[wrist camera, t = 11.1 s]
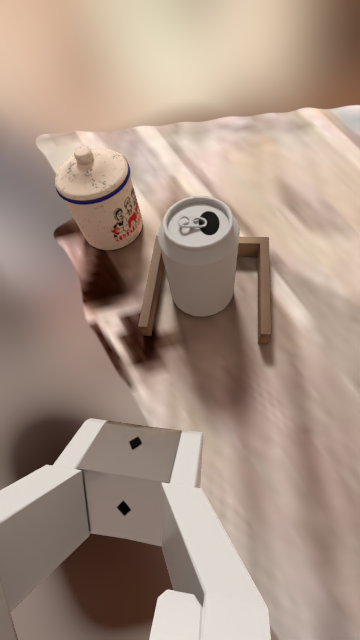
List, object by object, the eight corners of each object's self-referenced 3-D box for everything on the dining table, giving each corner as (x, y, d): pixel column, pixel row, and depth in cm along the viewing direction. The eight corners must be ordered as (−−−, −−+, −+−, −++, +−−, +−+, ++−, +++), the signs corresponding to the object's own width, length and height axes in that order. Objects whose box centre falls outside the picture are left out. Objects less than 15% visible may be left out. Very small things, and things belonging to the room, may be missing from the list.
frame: (143, 335, 34) (138, 326, 32) (159, 248, 40) (156, 235, 37) (267, 344, 32) (271, 334, 30) (265, 250, 38) (268, 237, 35)
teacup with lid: (129, 258, 39) (99, 184, 29) (72, 246, 42) (25, 172, 31) (161, 198, 44) (145, 115, 34) (108, 189, 46) (78, 109, 36)
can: (236, 317, 34) (247, 247, 23) (172, 322, 34) (153, 256, 24) (229, 265, 37) (235, 184, 27) (171, 271, 38) (154, 193, 27)
